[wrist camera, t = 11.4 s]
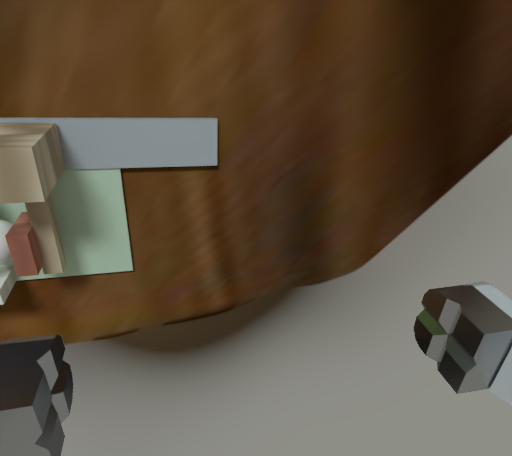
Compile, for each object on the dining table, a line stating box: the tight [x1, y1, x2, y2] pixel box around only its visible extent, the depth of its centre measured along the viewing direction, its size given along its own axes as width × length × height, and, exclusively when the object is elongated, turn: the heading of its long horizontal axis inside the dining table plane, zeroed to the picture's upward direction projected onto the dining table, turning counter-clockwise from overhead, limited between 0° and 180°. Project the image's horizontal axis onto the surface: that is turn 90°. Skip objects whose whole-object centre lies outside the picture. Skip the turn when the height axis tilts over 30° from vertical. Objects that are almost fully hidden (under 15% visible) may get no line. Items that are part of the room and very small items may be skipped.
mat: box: [0, 168, 133, 281], centre depth 35 cm, size 18×12×1 cm, turn 87°
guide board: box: [0, 118, 217, 170], centre depth 33 cm, size 18×4×1 cm, turn 87°
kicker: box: [0, 123, 66, 277], centre depth 31 cm, size 4×13×7 cm, turn 177°
